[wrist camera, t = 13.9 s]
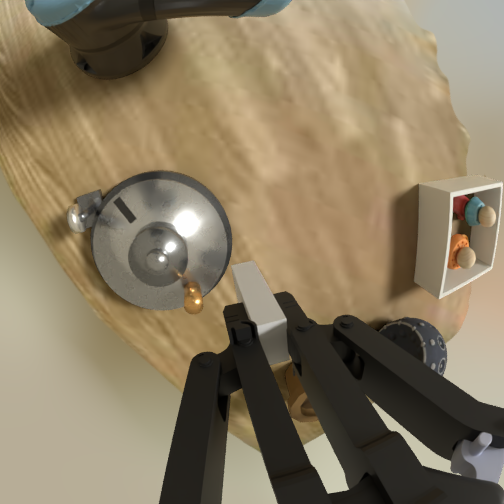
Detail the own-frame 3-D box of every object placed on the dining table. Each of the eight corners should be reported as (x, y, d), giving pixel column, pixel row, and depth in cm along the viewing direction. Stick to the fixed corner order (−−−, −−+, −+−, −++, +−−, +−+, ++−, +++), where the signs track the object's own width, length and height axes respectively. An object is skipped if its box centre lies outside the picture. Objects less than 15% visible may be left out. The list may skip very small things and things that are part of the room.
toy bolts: (453, 268, 61) (486, 288, 50) (420, 253, 56) (458, 276, 44) (476, 206, 56) (511, 220, 45) (446, 180, 51) (488, 193, 39)
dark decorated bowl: (348, 367, 63) (388, 424, 45) (389, 298, 58) (447, 349, 40) (376, 368, 66) (415, 418, 48) (415, 306, 61) (467, 350, 43)
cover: (124, 257, 38) (115, 273, 33) (150, 210, 37) (144, 220, 31) (170, 283, 41) (168, 302, 36) (198, 239, 40) (200, 254, 34)
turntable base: (77, 193, 36) (73, 196, 35) (214, 154, 39) (216, 155, 38) (121, 314, 45) (119, 321, 43) (241, 285, 48) (244, 291, 46)
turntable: (72, 237, 36) (55, 252, 30) (171, 149, 36) (168, 150, 30) (154, 325, 45) (152, 350, 39) (251, 256, 44) (261, 274, 38)
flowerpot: (345, 356, 61) (412, 450, 34) (307, 395, 64) (356, 491, 36) (304, 338, 56) (375, 455, 28) (263, 383, 58) (307, 499, 31)
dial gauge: (78, 196, 37) (59, 207, 30) (100, 189, 37) (84, 198, 30) (87, 226, 39) (70, 242, 32) (109, 220, 39) (95, 234, 32)
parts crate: (418, 183, 49) (450, 192, 41) (476, 174, 52) (502, 182, 44) (413, 281, 58) (438, 299, 50) (469, 256, 61) (492, 268, 53)
